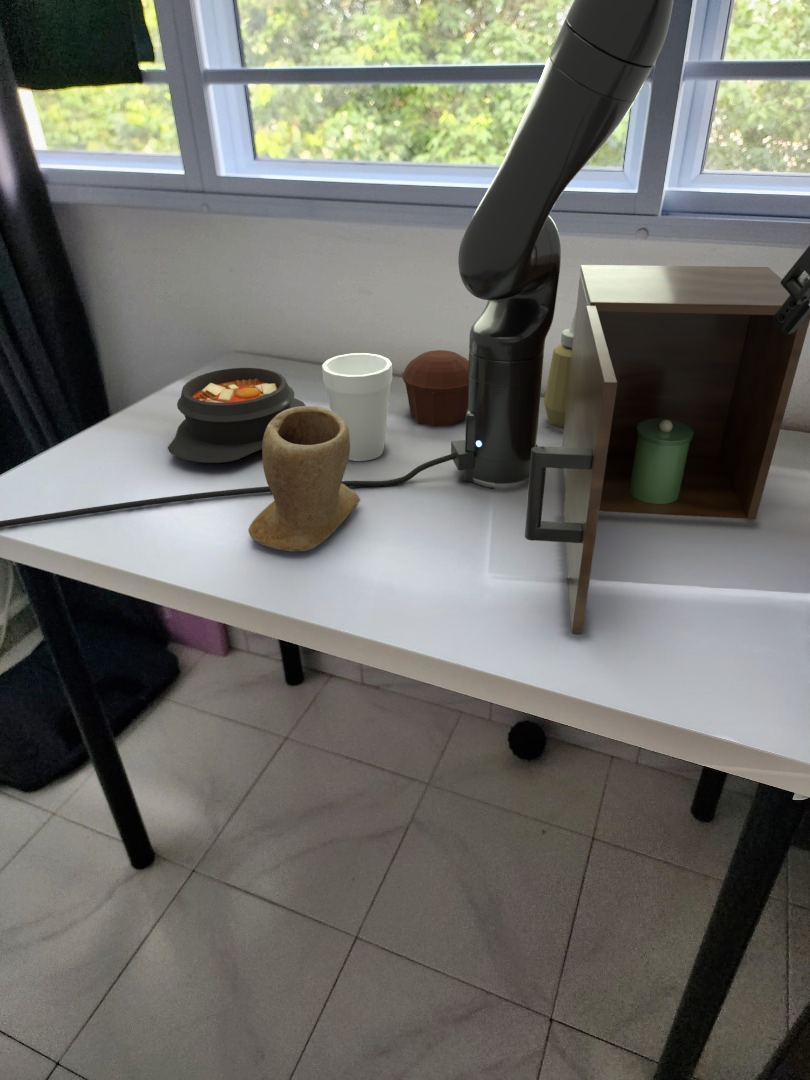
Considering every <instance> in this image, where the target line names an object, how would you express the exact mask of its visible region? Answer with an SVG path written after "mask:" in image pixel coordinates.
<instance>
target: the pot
mask: <svg viewBox="0 0 810 1080" xmlns="http://www.w3.org/2000/svg"><path fill="white" fill-rule="evenodd" d="M636 433H637V439H636V445H635V451H634V457H633V464H632V470H631V476H630V482H629V488H628V490H629V493H630V494H631V495H632V496H633V497H634V498H636V499H638V500H640V501H643V502H647V503H652V504H667V503H671V502H674V501H676V500H677V499H678V498H679V495H680V490H681V485H682V480H683V475H684V471H685V466H686V461H687V456H688V451H689V446H690V441H691V440H692V439H693V436H694V431H693V429H692V428H691V427H690V426H688V425H686V424H684V423H682V422H679V421H675V420H669V419H649V420H645V421H642V422H640V423H639V424H638V425H637V428H636Z"/></svg>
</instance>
